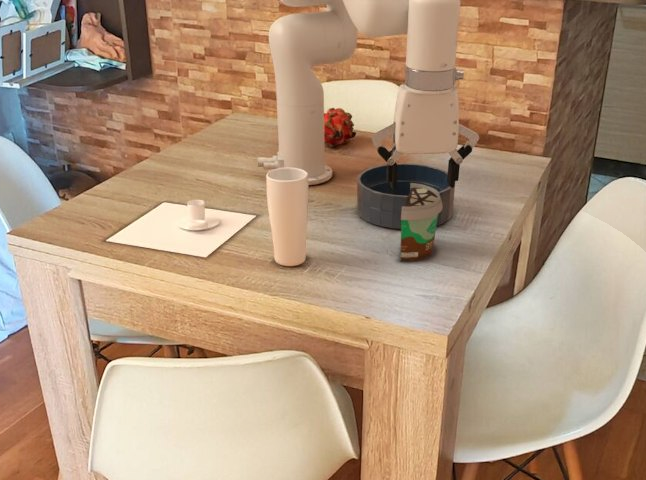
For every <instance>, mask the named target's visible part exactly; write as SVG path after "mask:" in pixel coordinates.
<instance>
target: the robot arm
mask: <svg viewBox="0 0 646 480" xmlns="http://www.w3.org/2000/svg"><path fill="white" fill-rule="evenodd" d="M279 2H281V3H282V4H283V5H285V6H287V7H292V8H293V7H294V8H295V7H296V8H298V7H299V8H300V7H313V6H323V5H326V11H323V10H322V11H314V12H313V11H312V12H301V13H292V14H287V15H283V16H281V17H278V18H277V19H276V20H275V21H273V22H272V24H271V25H270V26H269V30H268V46H269V51H270V55H271V60H272V65H273V72H274V80H275V95H276V96H275V97H276V116H277V117H276V119H277V138H278V139H277V142H278V151H277V152H276V155H272V157H265V156H264V157H263V156H261V157H259V156H258V157H257V167H258V168H259V167H260V168H262V167H263V170H274V169H278V168H298V169H302V170H304V171H306V172H307V174H308V186H313V185H320V184H323V183H326V182H328V181H329V180H330V179H331V178H332V177H333V169H332V168H331V167H330V166H329V165H327V164H326V159H325V155H326V154H325V152H326V151H325V148H326V147H325V140H324V113H325V95H324V93H325V92H324V88H323V85H322V82H321V81H320V79H319V78H318V76H317V75H316V74H315V72H314V71H313V67H316V66H320V65H322V66H323V65H327V64H328V65H329V64H338V63H342V62H346V61H348V60H350V59H351V58H352V57H353V56H354V54H355V52H356V49H357V43H358V32H359V33H360V34H361V35H363V36H365V37H368V38H384V37H391V36H400V35H406V51H405V71H404V83H403V84H400V85H399V86H398V90H397V95H396V101H395V105H394V113H393V123H391V124H390V125H388V126H385V127H384V128H382V129H380V130H378V131H376V132H375V133H372V134H371V136H370V138H371V139H370V140H371V142H372V143H373V145H374V147H375V149H376V151H377V154H378V155H379V156H380V157H381V158H382V160H384V162H386V165H387V182H390V184H391V187H392V189H396V188H397V173H398V166H397V164H398V163H397V161H398V160H399V159H400V158H401V157H402V156H403V155H404V154H405V155H424V154H425V155H426V154H427V155H429V154H448V155H449V156H450V158H449V160H448V164H447V172H448V174H447V182H448V184H449V186H450V187H451V188H455V189H456V182H458V181H459V177H460V169H461V168H460V167H461V164H462V163H463V161H464V160H465V159H466V158H467V157H468V156H469V155H470V154H471V153H472V152H473V150H474V148H475V146H476V144H477V143H478V141H479V140H480V135H479V133H478V132H476V131H474V130H472V129H470V128H468V127H467V126H465V125H463V124H461V123H460V109H459V108H460V107H459V106H460V105H459V104H460V103H459V94H458V88H457V86H456V82H457V81H459V80H464V76H465V72H464V70H463V69H461V70H460V69H457V67H456V62H457V61H456V59H457V48H458V37H459V25H460V13H461V0H279ZM459 135H461V136H462V137H464V138H466V141H465V143H464V144H463V145H462V146H460V148H458V143H459ZM390 137H392V138H391V139H392V143H393V145H392V146H391V148H390V149H387V147H385V146H384V144H383V141H384V140H386V139H388V138H390ZM457 148H458V149H457Z"/></svg>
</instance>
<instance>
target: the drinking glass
mask: <svg viewBox="0 0 646 480" xmlns="http://www.w3.org/2000/svg"><path fill="white" fill-rule="evenodd" d="M265 185H266V186H265V190H266V192H265V193H266V194H265V195H266V203H267V210H268V211H267V212H268V217H269V224H270V231H271V240H272V245H273V247H272V248H273V258H274V262H275V263H277V264H278V265H280V266H283V267H296V266H299V265H302V264H303V263H304V262H305V261H306V259H307V234H308V233H307V232H308V219H309V218H308V217H309V202H310V201H309V199H310V192H309V191H310V190H309V189H310V188H309V187H310V185H308V174H307V172H306V171H304V170H302V169H298V168H278V169H274V170H273V169H270V170H269V171H268V172H266V174H265Z"/></svg>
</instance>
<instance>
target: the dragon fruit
mask: <svg viewBox="0 0 646 480" xmlns="http://www.w3.org/2000/svg"><path fill="white" fill-rule="evenodd" d="M352 118H353V115H352V114H351V113H350V112H348V111H347V112H346V111H345V110H344V109H343V108H341V107H337V108H335V107H330V108H328V110H327V111H326V113H325V112H324V143H326V144H327V146H328V147H330V148H335V147H336V146H337V145H345V144H346V143H348V142H349V141H350V140H351V139H354V138H355V137H356V135H357V131H354V129H355V128H354V126H355V123H354V122H353V121H352Z"/></svg>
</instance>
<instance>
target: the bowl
mask: <svg viewBox="0 0 646 480" xmlns="http://www.w3.org/2000/svg"><path fill="white" fill-rule="evenodd" d="M397 166H398V173H397V188H396V189H392V187H391V184H390V182H387V164H380V165H377V166H373V167H372V166H371V167H369V168H367V169H365V170H363V171H362V172H360V173H359V174H358V175H357V178H356V212H357V214H358V216H359V217H360V218H361V219H362V220H364V221H366V222H368V223H370V224H373V225H376V226H379V227H384V228H388V229H394V230H395V229H396V230H401V211H402V207H404V206H405V203H406V200H407V197H408V195H409V193H410V184H411V183H415V184H422V185H426V186H429V187H432V188H434V189H435V190H437V191H438V192H439V194H440V196H441V199H442V206H443V209H442V211H441V212H440V213H438V217H437V224H436V226H439V225H442V224H444V223H445V222H447V221H449V220H450V218H451V217H452V216H453V213H454V205H455V204H454V203H455V191H456V187H455V188H451V187H450V186H449V184H448V182H447V174H448V171H446V170H444V169H442V168H439V167H435V166H432V165H427V164H426V165H425V164H420V163H419V164H418V163H407V162H405V163H397Z"/></svg>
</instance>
